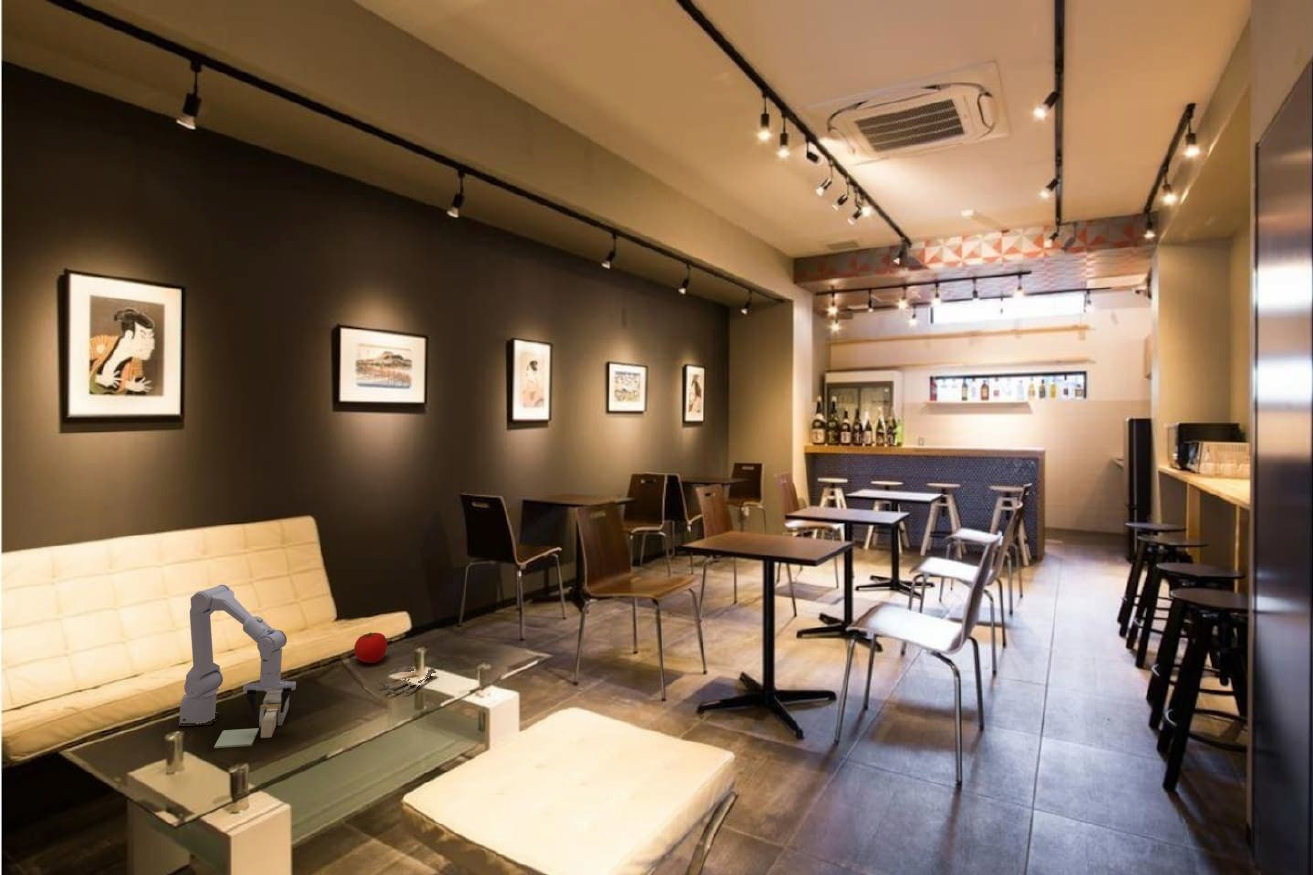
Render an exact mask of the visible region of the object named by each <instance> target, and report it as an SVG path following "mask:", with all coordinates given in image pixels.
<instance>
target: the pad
mask: <svg viewBox="0 0 1313 875" xmlns="http://www.w3.org/2000/svg"><path fill="white" fill-rule="evenodd" d="M259 730H260V727H257V728H254V727H253V728H241V729H227V730H225V729H224V730H223V729H222V732H221V734H219V737H218V739H217V741H216V743H214V744H215V745H214V747H213V748H214V749H220V748H221V749H222V748H223V749H224V748H239V747H251V746H253V744H254V741H255V739H256V737H257V735H258V732H259Z"/></svg>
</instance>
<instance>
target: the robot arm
mask: <svg viewBox="0 0 1313 875" xmlns="http://www.w3.org/2000/svg"><path fill="white" fill-rule="evenodd" d="M234 592H235V591H234V590H232V589H230V587H229V586H228V585H226V584H218V585H217V586H214V587H210V588H208V589H204V590H201V591H200V590H199V591H196V592H195V593H194V594H193V595H191V597H190V608H189V609H190V610H189V621H190V637H191V638H190V639H191V651H192V652H191V653H192V667H191V669H190V670H188V672H187V673H186V674H185V683H184V686H183V688H184V693H185V694H184V695H183V696H182V698H181V702H180V705H179V706H180V708H179V724H180V723H196V724H199V723H200V724H201V723H206V722H208V721H211V720H212V719H214V718H215V713H217V712H216V711H217V710H216V709H217V708H216V707H217V692H218V691H219V687H221V685H222V684H223V682H224V676H223V674H222V672H221V668H220V665H219V664H217V663H216V662H214V652H213V651H214V650H213V638H212V624H211V622H212V621H211V619H212V618H211V615H212V614H213V613H214V612H221V611H224V612H225V613H227V614H228V615H229V616H231V617H232V618H233V619H234V620H236V621H237V622H239V623H240V624H241V625H242V631H243V632H245V634H246V635H248V637H250V638H251V639H252V640H253V642H255V643H256V646H257V650H258V651H259V657H260V672H259V674H260V675H259V681H258V682H252V683H244V685H243V688H242V692H243V693H246V699H247V700H248V702H249V704H250V708H251V709H252V715H253V716H254V715H256V714H257V712H258V696H259V695H258V694H259V692H262V691H263V692H267V691H271V690H283V691H282V693H281V709H280V713H283V711H284V707H285V703H286V700H287V698H288V696H289V697H290V695H291V692H292V691H295V690H296V687H297V682H296V681H291V680H290V681H289V680H281V679H282V678H281V677H282V676H281V675H282V656H283V647H285V646H286V645H287V640H288V639H287V635H286V634H285V632H284V631H283V630H280V629H276V628H273V627H271V626H270V625H269V624H268V623H267V622H266V621H264V619H263V617H261V616H259V615H258V616H256V615H255V616H253V615H252V614H251V613H250V612H249V611H248V610H247V609H246V608H245V607H244V606H243V605H242V604H241V603H240V602H239V601H238V600H237V599H236V598H235V593H234ZM183 719H186V720H183Z"/></svg>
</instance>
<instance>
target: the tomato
mask: <svg viewBox="0 0 1313 875" xmlns="http://www.w3.org/2000/svg"><path fill="white" fill-rule="evenodd" d="M360 635H361V636H359V638H357V639H356V641H355V644H354V646H353V650H354V655H355V657H356V658H357V659H358V660H359V661H361V662H363V663H366V664H367V663H368V664H370V663H371V664H373V663H375V664H376V663H378V662H380V661H381V660H382V659H383V658H384V656H385V655H386V652H387V649H388V642H387V639H386V636H385V634H383V633H380V632H371V631H370V632H369V633H364V634H361V633H360Z"/></svg>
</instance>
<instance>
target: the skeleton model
mask: <svg viewBox="0 0 1313 875" xmlns="http://www.w3.org/2000/svg"><path fill="white" fill-rule="evenodd" d="M415 668H416V667H413V666H403V667H401V668H394V669H392V670H390V671H388V674H389V675H391V674H398V673H412V672H411V671H414V669H415ZM436 672H437V671H436V670H435V668H434V667H430V669H428V673H427V675H426V677H425V679H426V678H428V677H429V678H431V677H430V676H431V674H432V673H436ZM429 678H428V679H429ZM425 679H423V680H425ZM409 680H410V679H408V680H407V681H409ZM423 680H420V681H418V683H421V682H422V681H423ZM407 681H406V680H403V681H402V682H401V683H399V684H397V685H395V686H393V684H394V683H392V684H387V683H386V684H385V683H384V682H383V681H380V680H379V679H376V682H377V683H378V684H379V685H381V686H382V687H383V689H385V690H387V692H388V693H390V694H393V695H399V694H403V693H405V694H411V693H414V692H416V690H417V689H416V688H415V687H414V688H413V689H411V688H410V686H406V685H404V683H407ZM409 683H411V682H409ZM403 685H404V686H405V687H404V688H403V689H399V690H398V691H394V690H395V689H398V688H400V687H403ZM409 690H410V691H409Z"/></svg>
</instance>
